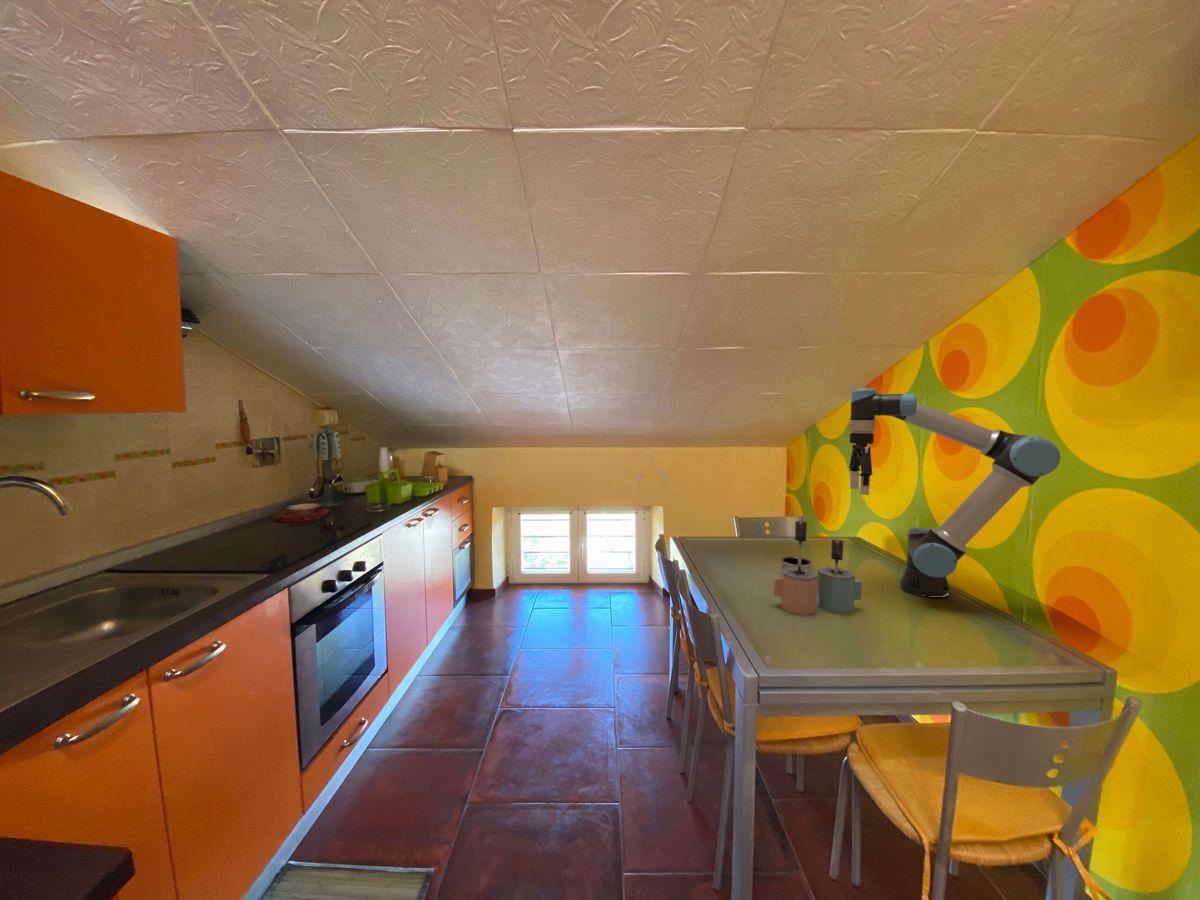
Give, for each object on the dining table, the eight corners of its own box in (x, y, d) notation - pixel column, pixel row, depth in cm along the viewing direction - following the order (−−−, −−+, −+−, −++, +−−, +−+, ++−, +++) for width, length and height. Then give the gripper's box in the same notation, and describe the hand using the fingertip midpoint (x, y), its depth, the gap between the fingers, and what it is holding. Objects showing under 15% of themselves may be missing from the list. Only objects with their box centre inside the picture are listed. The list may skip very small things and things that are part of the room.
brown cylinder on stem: (809, 577, 160) (812, 520, 159) (814, 586, 153) (816, 525, 151) (784, 575, 163) (786, 518, 161) (787, 583, 155) (789, 523, 153)
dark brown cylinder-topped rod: (845, 595, 162) (847, 538, 160) (851, 605, 154) (854, 545, 153) (819, 593, 164) (822, 537, 162) (824, 602, 156) (826, 543, 155)
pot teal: (855, 603, 162) (857, 569, 161) (864, 615, 152) (865, 579, 151) (815, 599, 165) (816, 565, 165) (820, 611, 155) (822, 575, 155)
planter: (805, 581, 184) (806, 556, 183) (815, 591, 173) (816, 565, 172) (776, 580, 185) (777, 555, 184) (784, 590, 174) (785, 564, 173)
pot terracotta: (812, 603, 162) (813, 569, 161) (817, 615, 152) (819, 579, 151) (772, 599, 165) (773, 565, 164) (775, 611, 155) (776, 575, 154)
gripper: (842, 431, 182) (839, 486, 183) (859, 433, 157) (856, 497, 159) (863, 431, 180) (861, 487, 181) (885, 434, 156) (881, 498, 157)
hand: (859, 491), depth 170 cm, fingers open, 13 cm apart
